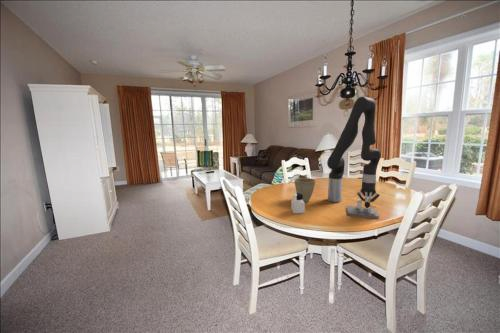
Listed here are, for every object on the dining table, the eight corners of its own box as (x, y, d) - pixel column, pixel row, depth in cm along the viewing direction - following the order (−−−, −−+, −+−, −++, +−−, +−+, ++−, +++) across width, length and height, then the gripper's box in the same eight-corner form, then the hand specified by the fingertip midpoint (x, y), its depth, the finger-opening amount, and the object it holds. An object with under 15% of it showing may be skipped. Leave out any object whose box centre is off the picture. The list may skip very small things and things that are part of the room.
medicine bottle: (301, 209, 144) (302, 192, 142) (304, 213, 137) (305, 195, 135) (291, 209, 144) (291, 192, 142) (293, 213, 137) (293, 195, 135)
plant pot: (315, 204, 152) (316, 182, 150) (294, 203, 155) (294, 182, 153) (313, 197, 167) (314, 177, 164) (294, 197, 170) (294, 177, 167)
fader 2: (370, 213, 128) (371, 205, 127) (369, 212, 131) (370, 204, 130) (375, 214, 127) (375, 206, 127) (374, 212, 130) (375, 204, 129)
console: (347, 215, 132) (348, 212, 132) (347, 208, 144) (347, 205, 144) (378, 218, 126) (378, 216, 126) (375, 210, 138) (375, 208, 137)
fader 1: (357, 208, 137) (357, 201, 136) (356, 207, 140) (357, 199, 139) (361, 209, 136) (361, 201, 135) (360, 207, 139) (361, 199, 138)
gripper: (357, 181, 132) (355, 208, 135) (382, 183, 127) (380, 210, 130) (356, 179, 139) (355, 204, 142) (380, 180, 134) (378, 206, 137)
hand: (367, 207), depth 136 cm, fingers closed
